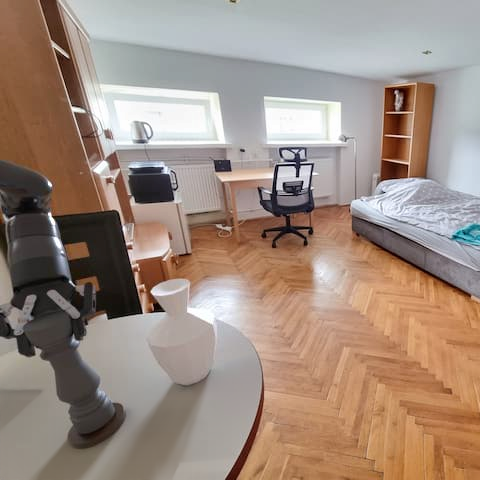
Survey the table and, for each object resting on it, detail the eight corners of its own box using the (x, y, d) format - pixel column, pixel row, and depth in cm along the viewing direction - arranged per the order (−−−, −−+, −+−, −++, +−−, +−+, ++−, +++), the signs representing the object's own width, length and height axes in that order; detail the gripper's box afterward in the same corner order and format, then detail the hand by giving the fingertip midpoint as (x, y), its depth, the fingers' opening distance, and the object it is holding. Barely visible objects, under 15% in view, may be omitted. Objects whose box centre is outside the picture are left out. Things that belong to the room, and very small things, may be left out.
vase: (212, 392, 67) (187, 303, 58) (149, 397, 66) (114, 306, 57) (232, 349, 81) (215, 270, 71) (180, 352, 80) (156, 273, 71)
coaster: (57, 451, 55) (54, 446, 55) (92, 409, 64) (89, 404, 63) (107, 445, 56) (105, 440, 56) (135, 404, 65) (133, 400, 64)
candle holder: (97, 434, 56) (45, 332, 47) (67, 434, 57) (8, 332, 47) (122, 405, 62) (79, 310, 53) (94, 405, 62) (47, 309, 53)
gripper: (94, 261, 62) (112, 334, 58) (-7, 283, 54) (6, 370, 49) (83, 246, 56) (102, 326, 52) (-32, 267, 48) (-20, 365, 44)
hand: (55, 347), depth 51 cm, fingers closed on candle holder, 5 cm apart
